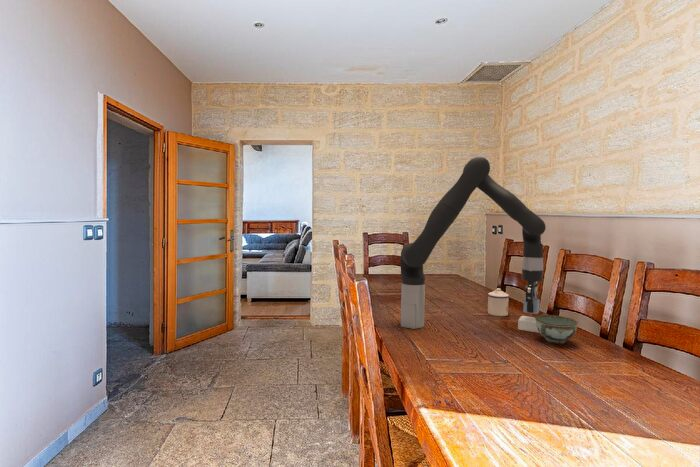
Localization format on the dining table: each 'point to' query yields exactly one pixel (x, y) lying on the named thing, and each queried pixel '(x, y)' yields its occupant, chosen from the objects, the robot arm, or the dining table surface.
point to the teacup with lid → (498, 303)
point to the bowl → (556, 328)
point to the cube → (535, 306)
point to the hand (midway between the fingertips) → (531, 310)
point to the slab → (527, 324)
